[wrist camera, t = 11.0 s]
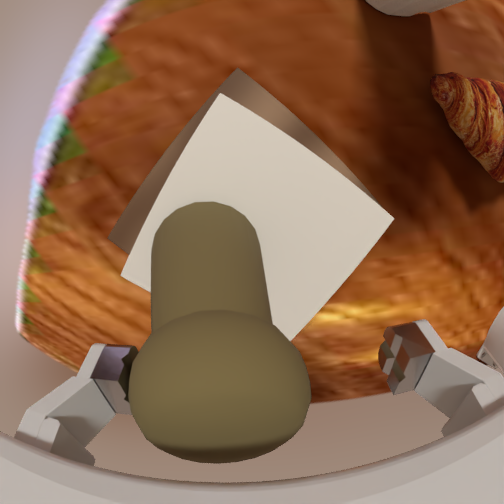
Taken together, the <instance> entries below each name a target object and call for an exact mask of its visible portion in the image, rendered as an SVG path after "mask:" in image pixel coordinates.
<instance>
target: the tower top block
mask: <svg viewBox="0 0 504 504" xmlns="http://www.w3.org/2000/svg"><path fill="white" fill-rule="evenodd" d="M212 201H213V202H217V203H221V204H224V205H228V206H231V207H233V208H234V209H236V210H237V211H239V212H240V213H242V214H243V215H245V216H246V218H247V219H248V220H249V222H250V223H251V224H252V226H253V227H254V228H255V230H256V233H257V236H258V239H259V243H260V247H261V253H262V260H263V266H264V272H265V278H266V284H267V291H268V297H269V303H270V310H271V316H272V322H273V325H275V326H276V327H277V328H278V329H279V330H280V331H281V332H282V333H283V334H284V335H285V336H286V337H287V339H288V340H289V341H291V340H292V339H293V338H294V337H295V336H296V335H297V334H298V333H299V332H300V330H301V329H302V328H303V327H304V326H305V325H306V324H307V323H308V322H309V321H310V320H311V319H312V318H313V316H314V315H315V314H316V313H317V312H318V311H319V310H320V309H321V308H322V306H323V305H324V304H325V303H326V302H327V301H328V300H329V299H330V297H331V296H332V295H333V294H334V293H335V292H336V291H337V289H338V288H339V287H340V286H341V285H342V284H343V282H344V281H345V280H346V279H347V278H348V277H349V275H350V274H351V273H352V272H353V271H354V269H355V268H356V267H357V266H358V265H359V263H360V262H361V261H362V260H363V258H364V257H365V256H366V255H367V253H368V252H369V251H370V250H371V248H372V247H373V246H374V245H375V243H376V242H377V241H378V240H379V238H380V237H381V236H382V234H383V233H384V232H385V230H386V229H387V228H388V226H389V225H390V224H391V222H392V221H393V220H394V218H393V217H392V216H391V215H390V214H389V213H388V212H386V211H385V210H384V209H383V208H382V207H381V206H380V205H378V204H377V203H376V202H375V201H374V200H373V199H371V198H370V197H369V196H368V195H367V194H366V193H364V192H363V191H362V190H361V189H359V188H358V187H357V186H356V185H355V184H353V183H352V182H351V181H350V180H348V179H347V178H346V177H345V176H343V175H342V174H341V173H339V172H338V171H337V170H336V169H334V168H333V167H332V166H330V165H329V164H328V163H326V162H325V161H324V160H322V159H321V158H320V157H318V156H317V155H316V154H314V153H313V152H311V151H310V150H309V149H307V148H306V147H305V146H303V145H302V144H300V143H299V142H297V141H296V140H295V139H293V138H292V137H290V136H289V135H287V134H286V133H284V132H283V131H281V130H280V129H278V128H277V127H275V126H274V125H272V124H271V123H269V122H268V121H266V120H264V119H263V118H261V117H260V116H258V115H257V114H255V113H253V112H252V111H250V110H249V109H247V108H245V107H244V106H242V105H240V104H239V103H237V102H235V101H233V100H232V99H230V98H228V97H227V96H225V95H223V94H221V93H220V94H219V95H218V97H217V98H216V100H215V101H214V103H213V104H212V106H211V107H210V109H209V110H208V112H207V113H206V115H205V116H204V118H203V119H202V121H201V123H200V124H199V126H198V127H197V129H196V131H195V132H194V134H193V135H192V137H191V139H190V140H189V142H188V144H187V145H186V147H185V149H184V150H183V152H182V154H181V155H180V157H179V159H178V161H177V162H176V164H175V166H174V168H173V169H172V171H171V173H170V175H169V177H168V178H167V180H166V182H165V184H164V186H163V188H162V190H161V191H160V193H159V195H158V197H157V199H156V201H155V203H154V205H153V207H152V209H151V211H150V213H149V215H148V217H147V219H146V221H145V223H144V225H143V227H142V229H141V231H140V233H139V235H138V237H137V240H136V242H135V244H134V246H133V248H132V250H131V253H130V255H129V257H128V259H127V262H126V264H125V266H124V268H123V271H122V273H121V276H122V277H124V278H125V279H127V280H129V281H131V282H133V283H134V284H136V285H138V286H140V287H142V288H144V289H145V290H147V291H149V292H151V249H152V244H153V240H154V235H155V233H156V231H157V230H158V228H159V226H160V225H161V223H162V222H163V220H164V219H165V218H166V217H168V216H169V215H170V214H171V213H173V212H174V211H175V210H176V209H178V208H180V207H183V206H186V205H189V204H191V203H194V202H212Z"/></svg>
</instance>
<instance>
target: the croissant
mask: <svg viewBox="0 0 504 504" xmlns="http://www.w3.org/2000/svg"><path fill="white" fill-rule="evenodd" d="M430 88H431V89H432V90H431V92H432V94H433V97H434V99H435V100H436V101H437V102H438V103H439V105H440V106H441V107H442V108H443V110H444V113H445V116H446V120H447V121H448V123H449V126H450V127H451V129H452V130H453V131H454V132H455V134H456V135H457V136H458V137H459V138H460V139H461V140H462V141H463V142H464V145H465V147H466V149H467V150H468V152H469V153H470V154H471V155H472V156H473V157H474V158H476V159H477V160H478V161H479V162H480V163H481V165H482V166H483V167H484V169H485V170H486V171H488V173H489V174H490V176H491V177H492V178H493V179H494V180H496V181H497V182H504V83H502V82H499V81H496V80H484V79H481V78H473V77H464V76H462V75H460V74H458V73H454V72H450V73H447V74H435V75H434V76H433V77H432V79H431V80H430Z"/></svg>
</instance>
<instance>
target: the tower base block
mask: <svg viewBox="0 0 504 504" xmlns="http://www.w3.org/2000/svg"><path fill="white" fill-rule="evenodd" d="M220 93H221V94H223V95H225V96H227V97H228V98H230V99H232V100H233V101H235V102H237V103H239V104H240V105H242V106H244V107H245V108H247V109H249V110H250V111H252V112H253V113H255V114H257V115H258V116H260V117H261V118H263V119H264V120H266V121H268V122H269V123H271V124H272V125H274V126H275V127H277V128H278V129H280V130H281V131H283V132H284V133H286V134H287V135H289V136H290V137H292V138H293V139H295V140H296V141H297V142H299V143H300V144H302V145H303V146H305V147H306V148H307V149H309V150H310V151H311V152H313V153H314V154H316V155H317V156H318V157H320V158H321V159H322V160H324V161H325V162H326V163H328V164H329V165H330V166H332V167H333V168H334V169H336V170H337V171H338V172H339V173H341V174H342V175H343V176H345V177H346V178H347V179H348V180H350V181H351V182H352V183H353V184H355V185H356V186H357V187H358V188H359V189H361V190H362V191H363V192H364V193H366V194H367V195H368V196H369V197H370V198H371V199H373V200H374V201H375V202H376V203H377V204H378V205H380V204H379V203H378V201H377V200H376V199H375V198H374V197H373V195H372V194H371V193H370V192H369V191H368V190H367V189H366V187H365V186H364V185H363V184H362V183H361V182H360V181H359V180H358V178H357V177H356V176H355V175H354V174H353V173H352V172H351V171H350V170H349V169H348V168H347V166H346V165H345V164H344V163H343V162H342V161H341V160H340V159H339V158H338V157H337V156H336V155H335V154H334V153H333V152H332V151H331V150H330V149H329V148H328V147H327V146H326V145H325V144H324V143H323V142H322V141H321V140H320V139H319V138H318V137H317V136H316V135H315V134H314V133H313V132H312V131H311V130H310V129H309V128H308V127H307V126H306V125H305V124H304V123H302V122H301V121H300V120H299V119H298V118H297V117H296V116H295V115H294V114H293V113H292V112H290V111H289V110H288V109H287V108H286V107H285V106H284V105H283V104H281V103H280V102H279V101H278V100H277V99H276V98H274V97H273V96H272V95H271V94H270V93H269V92H267V91H266V90H265V89H264V88H263V87H261V86H260V85H259V84H258V83H256V82H255V81H254V80H253V79H252V78H250V77H249V76H248V75H246V74H245V73H244V72H243V71H241V70H240V69H239V68H237V69H236V70H235V71H234V72H233V73H232V74H231V75H230V76H229V77H228V78H227V79H226V80H225V81H224V82H223V83H222V85H221V86H220V87H219V88H218V89H217V90H216V91H215V92H214V93H213V94H212V96H211V97H210V98H209V99H208V100H207V101H206V102H205V103H204V105H203V106H202V107H201V108H200V109H199V110H198V112H197V113H196V114H195V115H194V116H193V117H192V119H191V120H190V121H189V122H188V124H187V125H186V126H185V127H184V128H183V130H182V131H181V132H180V133H179V135H178V136H177V137H176V138H175V140H174V141H173V142H172V144H171V145H170V146H169V147H168V149H167V150H166V151H165V153H164V154H163V155H162V157H161V158H160V159H159V161H158V162H157V164H156V165H155V166H154V168H153V169H152V170H151V172H150V173H149V175H148V176H147V177H146V179H145V180H144V182H143V183H142V185H141V186H140V188H139V189H138V191H137V192H136V193H135V195H134V196H133V198H132V200H131V201H130V203H129V204H128V206H127V207H126V209H125V210H124V212H123V213H122V215H121V217H120V218H119V220H118V221H117V223H116V225H115V226H114V228H113V230H112V231H111V233H110V235H109V236H108V239H109V240H110V241H112V242H113V243H114V244H116V245H117V246H118V247H120V248H121V249H122V250H124V251H125V252H126V253H128V254H129V255H130V253H131V250H132V248H133V246H134V244H135V242H136V240H137V237H138V235H139V233H140V231H141V229H142V227H143V225H144V223H145V221H146V219H147V217H148V215H149V213H150V211H151V209H152V207H153V205H154V203H155V201H156V199H157V197H158V195H159V193H160V191H161V190H162V188H163V186H164V184H165V182H166V180H167V178H168V177H169V175H170V173H171V171H172V169H173V168H174V166H175V164H176V162H177V161H178V159H179V157H180V155H181V154H182V152H183V150H184V149H185V147H186V145H187V144H188V142H189V140H190V139H191V137H192V135H193V134H194V132H195V131H196V129H197V127H198V126H199V124H200V123H201V121H202V119H203V118H204V116H205V115H206V113H207V112H208V110H209V109H210V107H211V106H212V104H213V103H214V101H215V100H216V98H217V97H218V95H219V94H220ZM380 206H381V205H380ZM381 207H382V206H381ZM382 208H383V207H382Z"/></svg>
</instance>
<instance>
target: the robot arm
mask: <svg viewBox="0 0 504 504" xmlns="http://www.w3.org/2000/svg"><path fill="white" fill-rule="evenodd" d="M383 337H384V338H385V341H384V342H383V343H382V344H381V345H380V349H379V352H378V359H379V364H380V367H381V369H382V371H383V372H384V373H386V374H388V379H387V382H388V384H389V387H390V389H391V391H392V393H393V395H396V394H400V393H404V392H408V391H411V390H414V391H415V392H416V393H418V394H419V395H420V396H422V397H423V398H424V399H425V400H427V401H428V402H429V403H431V404H432V405H433V406H434V407H436V408H437V409H438V410H440V411H441V412H442V413H444V414H445V415H446V416H447V417H449V418H450V419H449V420H448V422H447V423H446V424H445V425H444V427H443V428H442V433H443V435H444V437H443V438H441V439H438V440H436V441H434V442H432V443H429V444H427V445H424V446H421V447H419V448H416V449H414V450H411V451H408V452H405V453H402V454H399V455H396V456H393V457H390V458H387V459H384V460H380V461H377V462H373V463H370V464H366V465H362V466H358V467H355V468H350V469H346V470H341V471H336V472H331V473H326V474H320V475H315V476H309V477H301V478H294V479H285V480H275V481H262V482H243V483H242V482H240V483H211V482H189V481H177V480H166V479H158V478H151V477H144V476H138V475H132V474H127V473H122V472H117V471H112V470H108V469H103V468H99V467H95V466H94V463H95V459H94V456H93V455H91V453H90V452H88V451H87V450H86V449H85V447H86V446H87V444H88V443H89V442H90V441H91V440H92V439H93V438H94V437H95V436H96V435H97V434H98V433H99V432H100V431H101V430H102V429H103V427H105V426H106V424H107V423H108V422H109V421H110V420H111V419H112V418H113V417H114V416H115V415H116V414H115V413H120V414H129V415H132V413H131V410H130V404H129V398H128V392H129V379H130V373H131V368H132V363H133V361H134V360H135V358H136V356H137V354H138V353H139V352H138V350H137V348H136V347H135V346H130V345H115V344H100V343H95V344H93V345H92V346H91V348H90V350H89V352H88V354H87V356H86V358H85V360H84V362H83V364H82V366H81V368H80V370H79V372H78V374H77V376H76V377H74V376H73V377H71V378H70V379H69V380H67V381H66V382H65V383H63V384H62V385H60V386H59V387H57V388H56V389H55V390H53V391H52V392H51V393H49V394H48V395H46V396H45V397H43V398H42V399H41V400H39V401H38V402H37V403H35V404H34V405H33V406H31V407H30V408H28V409H27V410H26V412H25V415H24V417H23V419H22V421H21V423H20V426H19V428H18V430H17V432H16V434H15V437H14V438H13V437H11V436H9V435H7V434H5V433H3V432H1V431H0V504H504V378H503V376H502V375H501V373H500V372H498V371H496V370H494V369H492V368H490V367H488V366H486V365H484V364H482V363H480V362H478V361H476V360H474V359H472V358H470V357H468V356H466V355H464V354H462V353H461V352H459V351H457V350H455V349H453V348H447V347H446V345H445V344H444V342H443V341H442V340H441V338H440V337H439V336H438V334H437V333H436V332H435V330H434V329H433V328H432V326H431V325H430V324H429V322H428V321H427V320H425V319H423V320H418V321H414V322H410V323H405V324H400V325H395V326H390V327H387V328H386V330H385V332H384V335H383ZM484 352H485V353H484ZM483 353H484V354H483ZM482 354H483V355H482ZM477 358H479V359H480V360H482V361H484V362H485V363H487V364H488V365H490V366H492V367H494V368H495V369H496V368H498V367H499V368H500V370H501V371H502V372H503V374H504V307H503V308H502V309H501V311H500V312H499V314H498V315H497V317H496V318H495V320H494V322H493V324H492V326H491V328H490V330H489V332H488V334H487V337H486V339H485V342H484V344H483V345H482V347H481V348H480V350H479V352H478V353H477Z"/></svg>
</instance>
